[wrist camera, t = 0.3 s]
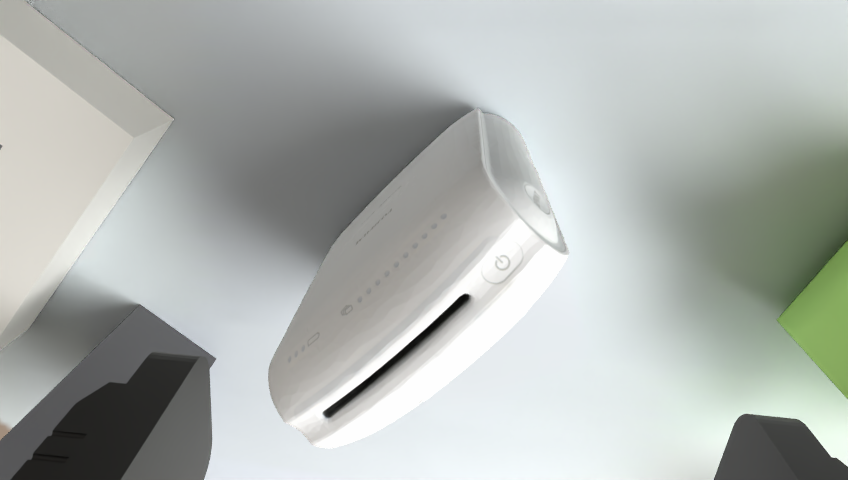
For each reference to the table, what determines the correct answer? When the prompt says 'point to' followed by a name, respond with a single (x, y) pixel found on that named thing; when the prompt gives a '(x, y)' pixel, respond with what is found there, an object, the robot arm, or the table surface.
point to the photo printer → (419, 284)
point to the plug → (93, 381)
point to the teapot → (824, 319)
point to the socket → (58, 156)
